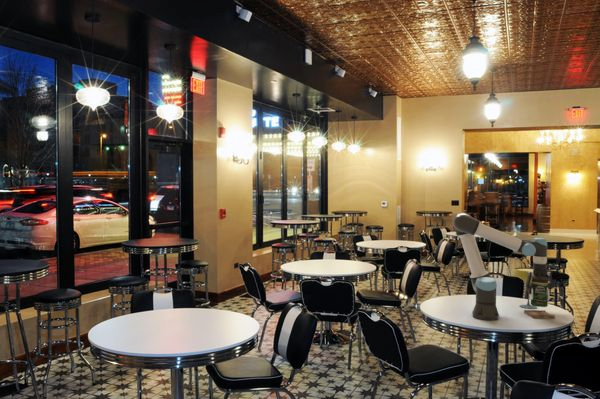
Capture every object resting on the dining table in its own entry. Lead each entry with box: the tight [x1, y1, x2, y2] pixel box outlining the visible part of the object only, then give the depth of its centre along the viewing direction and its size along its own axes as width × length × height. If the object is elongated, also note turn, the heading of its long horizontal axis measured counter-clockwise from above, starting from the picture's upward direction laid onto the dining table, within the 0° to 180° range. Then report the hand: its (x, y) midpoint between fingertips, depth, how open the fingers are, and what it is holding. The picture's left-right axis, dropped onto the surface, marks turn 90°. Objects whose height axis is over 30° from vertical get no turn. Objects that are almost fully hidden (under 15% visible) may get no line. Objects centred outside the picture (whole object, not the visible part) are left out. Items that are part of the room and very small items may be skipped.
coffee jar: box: [530, 276, 549, 308], centre depth 313 cm, size 10×8×19 cm
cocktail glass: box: [514, 267, 538, 310], centre depth 336 cm, size 18×18×25 cm
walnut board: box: [523, 309, 556, 319], centre depth 313 cm, size 13×13×2 cm
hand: (539, 299), depth 313 cm, fingers closed on coffee jar, 9 cm apart
